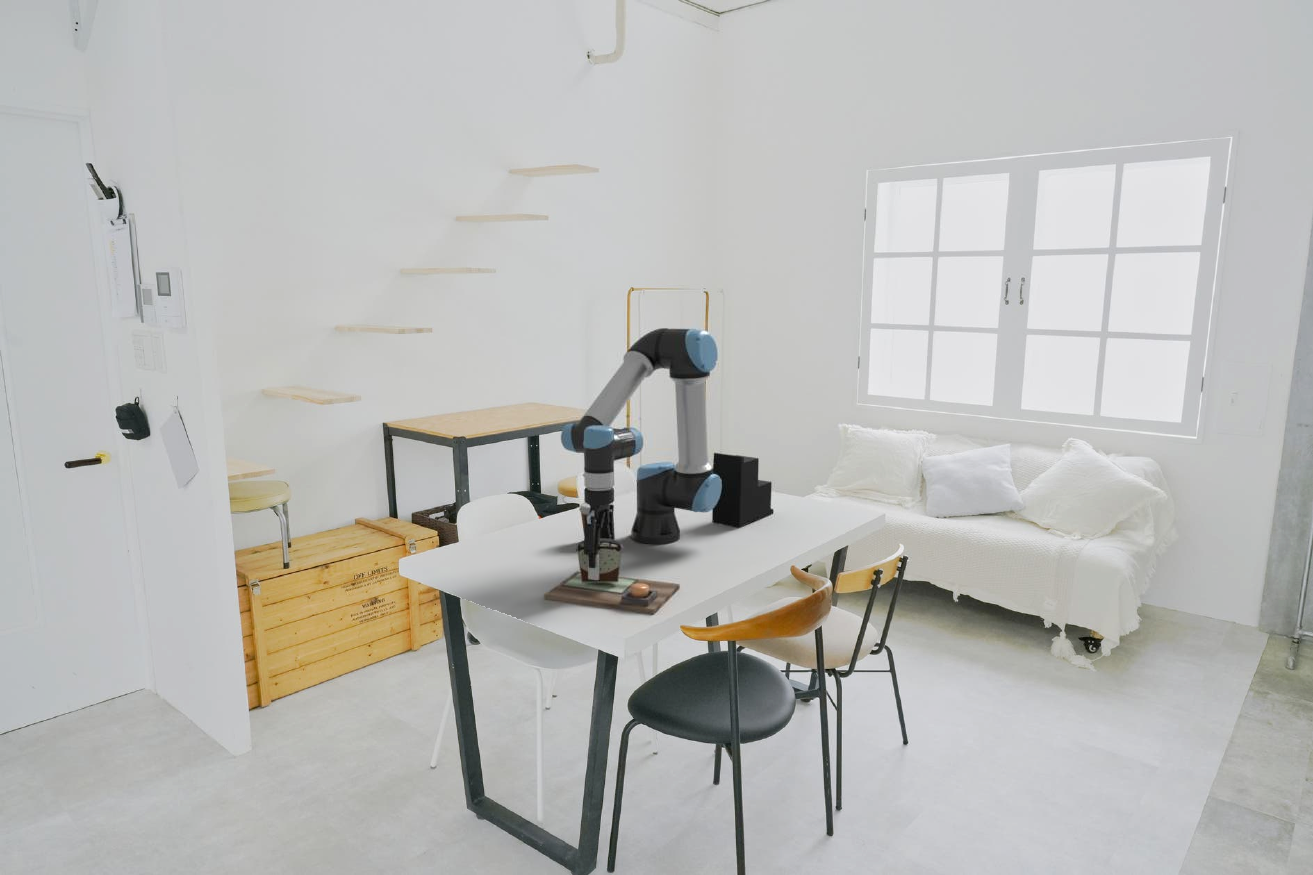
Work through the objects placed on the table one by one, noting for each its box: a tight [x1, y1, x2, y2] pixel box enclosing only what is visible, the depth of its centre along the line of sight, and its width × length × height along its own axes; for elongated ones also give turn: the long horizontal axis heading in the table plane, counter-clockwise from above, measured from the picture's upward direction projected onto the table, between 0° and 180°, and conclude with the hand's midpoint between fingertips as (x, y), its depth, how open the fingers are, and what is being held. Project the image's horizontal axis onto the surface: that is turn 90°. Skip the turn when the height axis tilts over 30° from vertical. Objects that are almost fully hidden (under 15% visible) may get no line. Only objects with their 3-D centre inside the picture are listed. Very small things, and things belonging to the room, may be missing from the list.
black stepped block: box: [711, 452, 774, 528], centre depth 291 cm, size 23×11×24 cm, turn 144°
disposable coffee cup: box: [578, 501, 601, 538], centre depth 263 cm, size 10×10×12 cm
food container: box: [574, 538, 625, 583], centre depth 225 cm, size 12×6×10 cm, turn 91°
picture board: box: [544, 570, 681, 615], centre depth 221 cm, size 19×29×3 cm, turn 70°
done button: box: [631, 583, 649, 597], centre depth 213 cm, size 4×4×2 cm
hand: (599, 574), depth 225 cm, fingers closed on food container, 7 cm apart
